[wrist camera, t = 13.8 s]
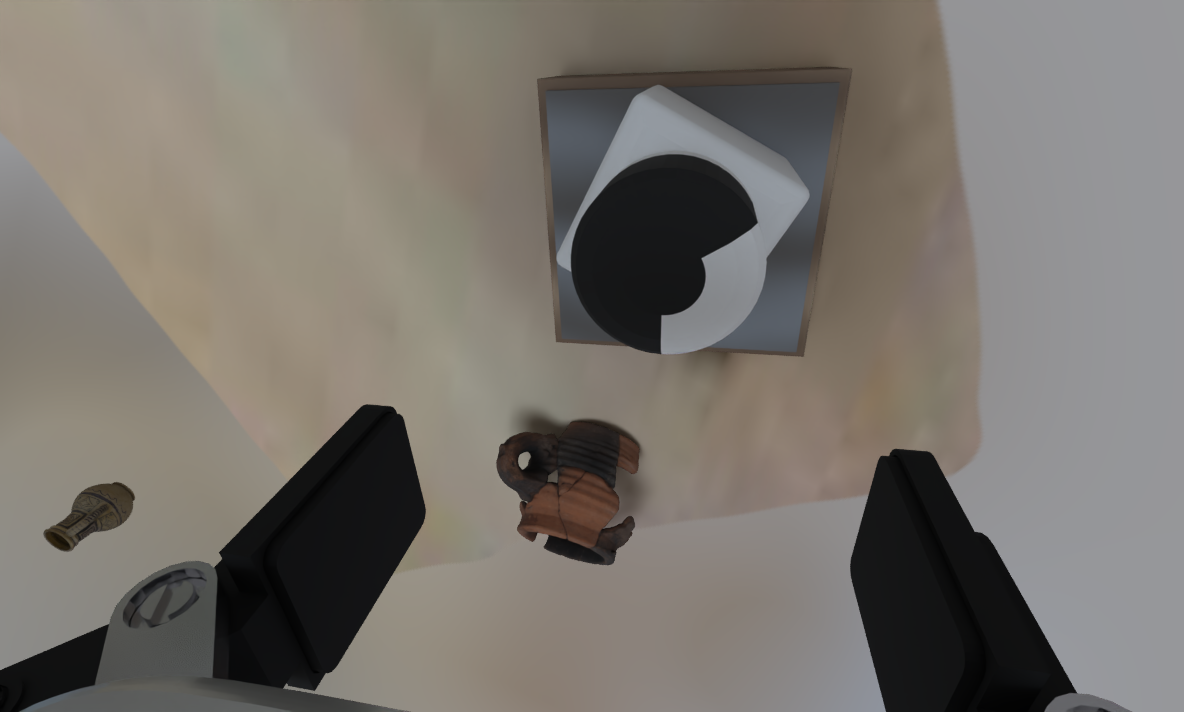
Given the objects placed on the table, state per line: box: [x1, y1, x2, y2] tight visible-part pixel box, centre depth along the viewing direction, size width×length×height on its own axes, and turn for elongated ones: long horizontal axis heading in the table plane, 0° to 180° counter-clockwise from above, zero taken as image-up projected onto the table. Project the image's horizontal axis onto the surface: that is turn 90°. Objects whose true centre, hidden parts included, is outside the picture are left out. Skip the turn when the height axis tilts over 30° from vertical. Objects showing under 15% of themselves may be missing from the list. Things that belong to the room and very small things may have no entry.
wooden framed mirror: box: [537, 67, 852, 357], centre depth 30 cm, size 14×14×5 cm
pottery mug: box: [496, 422, 639, 565], centre depth 40 cm, size 12×9×8 cm
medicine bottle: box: [557, 85, 810, 354], centre depth 22 cm, size 7×7×12 cm
